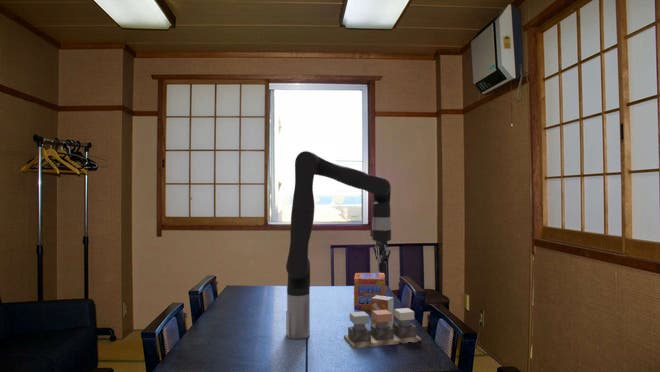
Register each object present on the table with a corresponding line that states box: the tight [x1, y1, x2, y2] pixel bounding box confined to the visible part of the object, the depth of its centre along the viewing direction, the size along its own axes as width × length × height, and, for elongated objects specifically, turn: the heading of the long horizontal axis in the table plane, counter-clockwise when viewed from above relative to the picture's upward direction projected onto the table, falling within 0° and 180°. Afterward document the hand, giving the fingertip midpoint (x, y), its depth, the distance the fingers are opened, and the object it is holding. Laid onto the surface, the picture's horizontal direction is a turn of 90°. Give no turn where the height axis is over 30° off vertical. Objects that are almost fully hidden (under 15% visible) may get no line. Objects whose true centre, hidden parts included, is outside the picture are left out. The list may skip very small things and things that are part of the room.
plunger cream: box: [393, 307, 415, 327], centre depth 186 cm, size 6×6×7 cm
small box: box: [370, 295, 395, 327], centre depth 199 cm, size 8×6×13 cm
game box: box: [353, 272, 386, 311], centre depth 235 cm, size 16×16×16 cm
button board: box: [343, 322, 422, 349], centre depth 183 cm, size 28×12×5 cm, turn 105°
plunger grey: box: [349, 310, 370, 331], centre depth 181 cm, size 6×6×7 cm
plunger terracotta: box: [372, 310, 392, 329], centre depth 183 cm, size 6×6×7 cm
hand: (381, 272), depth 183 cm, fingers closed
